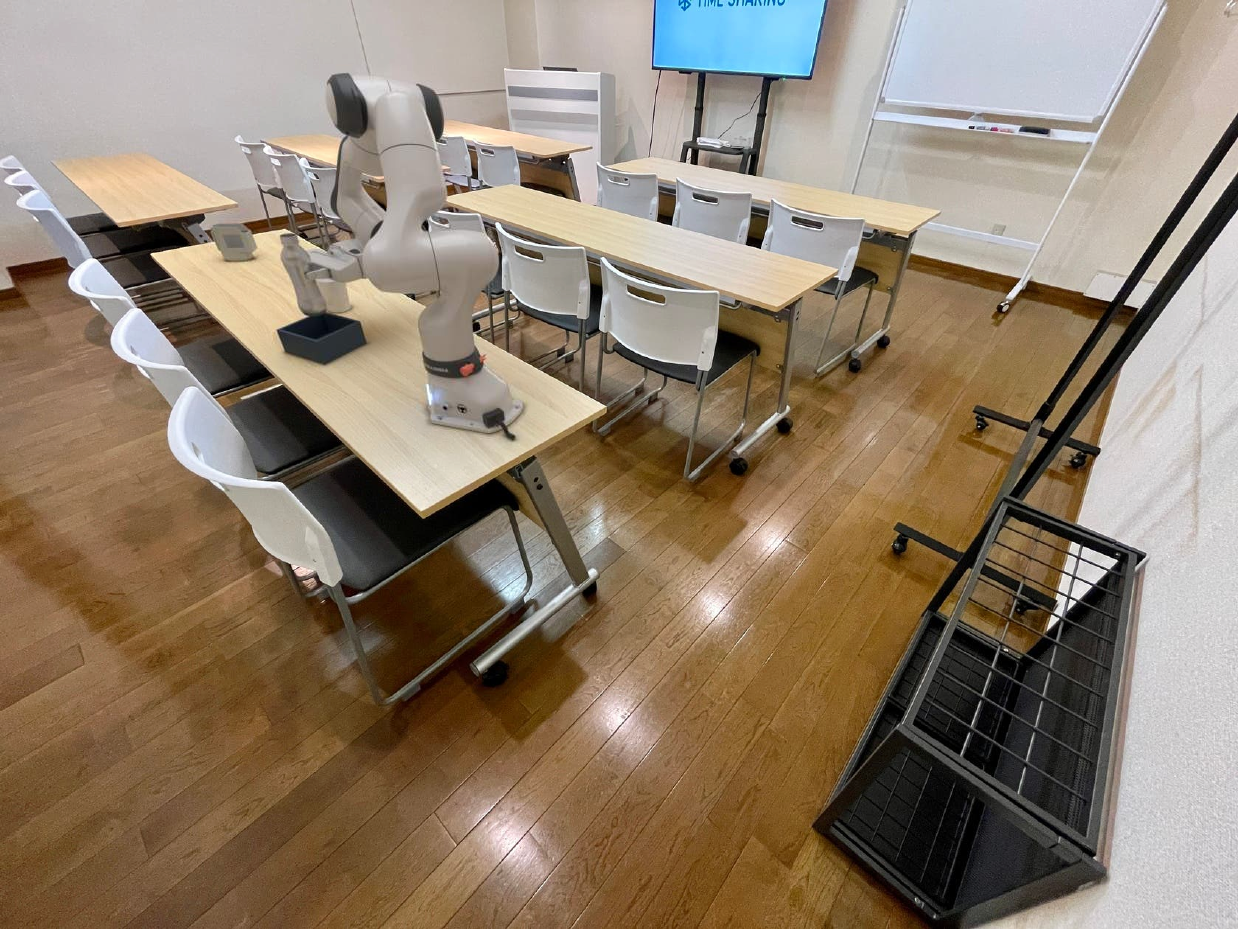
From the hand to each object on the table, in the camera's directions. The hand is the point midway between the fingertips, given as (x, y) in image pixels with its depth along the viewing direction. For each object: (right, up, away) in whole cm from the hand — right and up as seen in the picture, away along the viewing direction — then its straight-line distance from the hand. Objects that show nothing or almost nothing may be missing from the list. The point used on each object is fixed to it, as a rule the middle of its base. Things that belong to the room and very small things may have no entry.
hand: (297, 273), depth 130 cm
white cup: (-8, +1, +34) cm, 35 cm away
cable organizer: (-61, +30, +65) cm, 94 cm away
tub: (0, -16, +14) cm, 21 cm away
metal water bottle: (0, -8, +8) cm, 11 cm away
